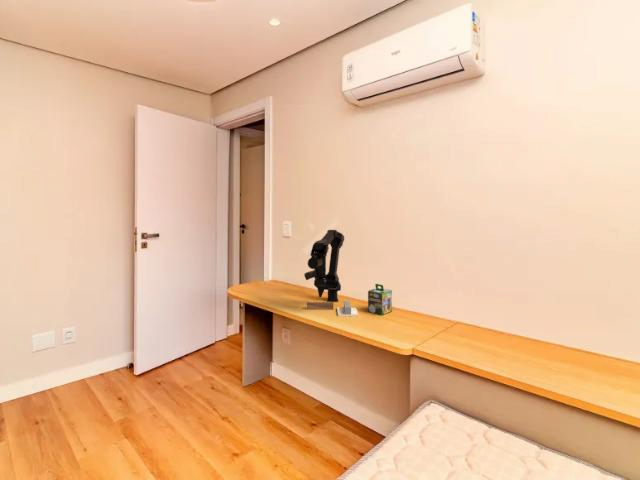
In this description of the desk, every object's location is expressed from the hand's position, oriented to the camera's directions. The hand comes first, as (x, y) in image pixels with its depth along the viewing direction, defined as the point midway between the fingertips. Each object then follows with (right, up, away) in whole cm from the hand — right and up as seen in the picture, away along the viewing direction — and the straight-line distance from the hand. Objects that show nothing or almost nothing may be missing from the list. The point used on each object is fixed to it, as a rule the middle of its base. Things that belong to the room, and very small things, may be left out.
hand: (320, 294), depth 187 cm
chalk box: (+31, -8, -4) cm, 32 cm away
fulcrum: (+14, -8, -6) cm, 17 cm away
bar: (0, -8, +1) cm, 8 cm away
